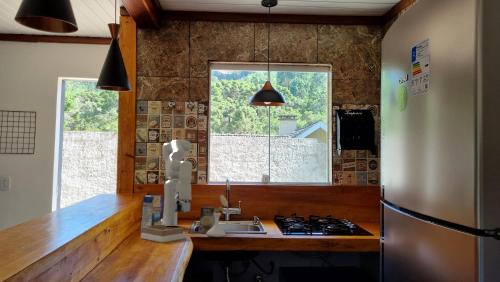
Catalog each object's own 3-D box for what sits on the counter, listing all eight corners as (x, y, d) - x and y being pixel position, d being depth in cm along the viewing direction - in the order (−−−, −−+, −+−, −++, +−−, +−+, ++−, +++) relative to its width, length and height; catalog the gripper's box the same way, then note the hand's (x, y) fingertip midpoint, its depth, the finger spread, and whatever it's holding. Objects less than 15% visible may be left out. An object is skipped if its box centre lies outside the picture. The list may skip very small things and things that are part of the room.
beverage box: (140, 233, 204) (143, 196, 207) (150, 231, 215) (153, 195, 217) (150, 234, 202) (153, 196, 205) (160, 232, 213) (163, 196, 215)
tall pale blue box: (174, 211, 213) (175, 201, 214) (180, 211, 217) (181, 201, 218) (184, 213, 209) (184, 203, 209) (189, 212, 213) (190, 203, 214)
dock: (140, 238, 191) (141, 226, 191) (165, 234, 206) (165, 224, 206) (161, 242, 182) (162, 230, 183) (185, 238, 197) (185, 227, 198)
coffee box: (198, 232, 218) (200, 207, 220) (200, 231, 224) (202, 206, 226) (212, 234, 217) (214, 208, 219) (214, 232, 223) (216, 207, 225)
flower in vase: (214, 239, 200) (217, 195, 203) (202, 236, 208) (205, 194, 210) (231, 237, 210) (233, 195, 212) (218, 234, 217) (220, 194, 220)
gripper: (189, 180, 224) (187, 209, 222) (170, 180, 210) (167, 211, 208) (198, 181, 220) (196, 210, 218) (179, 181, 205) (176, 212, 204)
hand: (182, 210), depth 213 cm, fingers closed on tall pale blue box, 5 cm apart
